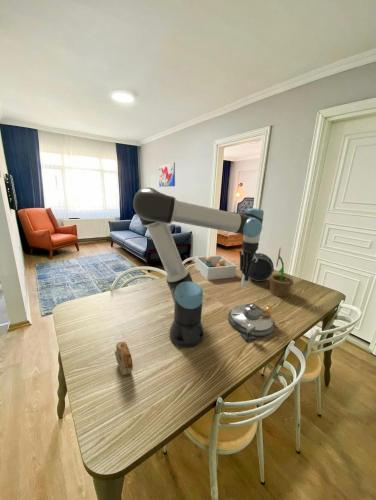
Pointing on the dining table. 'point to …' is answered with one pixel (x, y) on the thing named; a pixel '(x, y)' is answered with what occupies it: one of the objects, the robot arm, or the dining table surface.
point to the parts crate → (215, 268)
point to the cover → (252, 311)
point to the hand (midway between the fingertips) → (244, 285)
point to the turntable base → (256, 334)
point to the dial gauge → (250, 329)
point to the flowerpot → (280, 282)
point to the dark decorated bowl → (262, 268)
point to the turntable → (260, 324)
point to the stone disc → (123, 358)
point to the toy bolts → (209, 264)
